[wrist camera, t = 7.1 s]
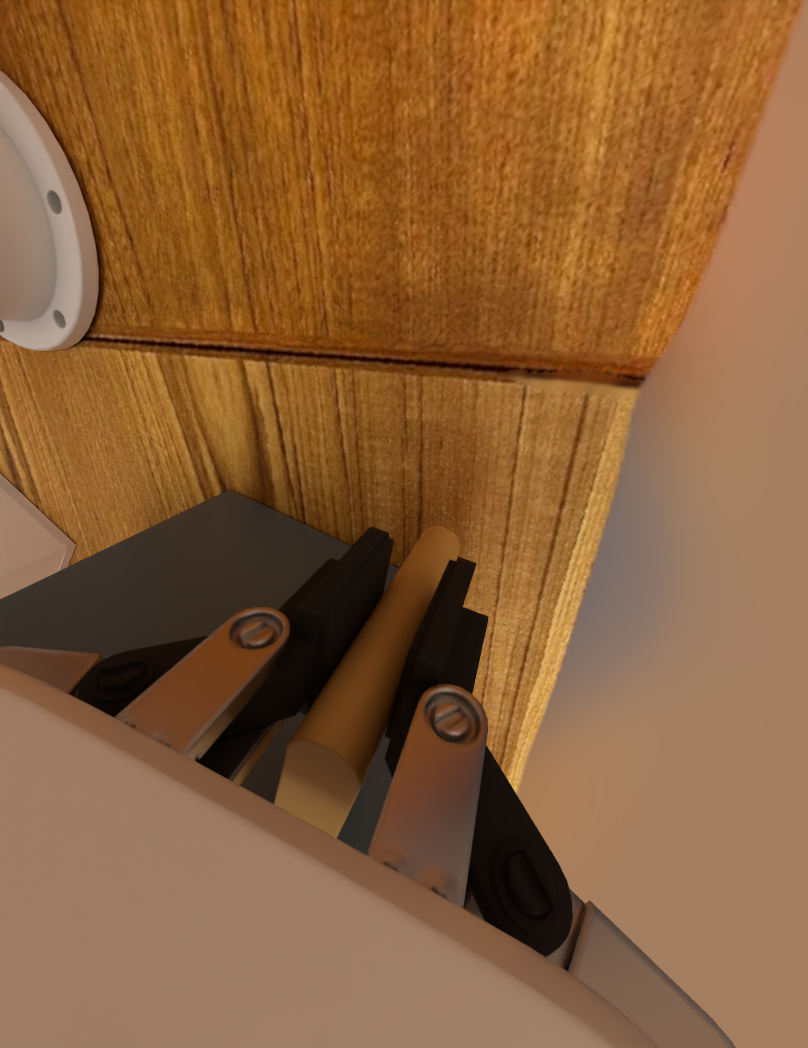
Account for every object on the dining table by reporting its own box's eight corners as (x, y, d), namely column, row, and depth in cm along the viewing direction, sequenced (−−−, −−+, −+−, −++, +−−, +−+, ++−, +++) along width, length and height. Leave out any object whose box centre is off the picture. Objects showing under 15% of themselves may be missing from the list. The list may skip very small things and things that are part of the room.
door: (234, 388, 20) (-329, 479, 7) (508, 502, 18) (400, 938, 5) (229, 502, 24) (-148, 697, 11) (454, 608, 22) (314, 1016, 9)
